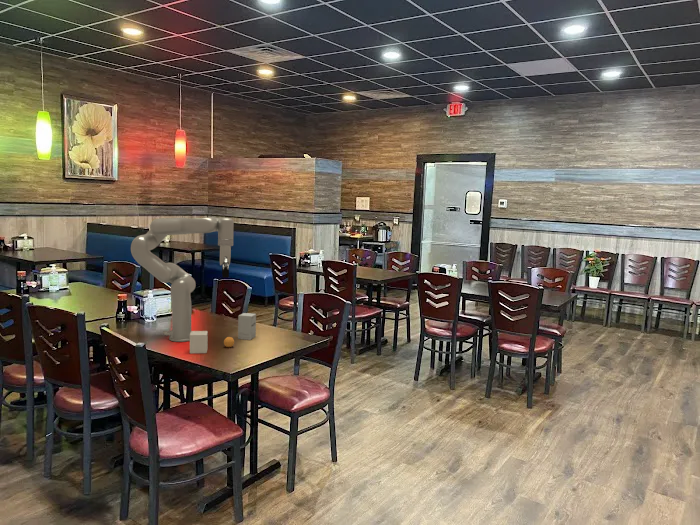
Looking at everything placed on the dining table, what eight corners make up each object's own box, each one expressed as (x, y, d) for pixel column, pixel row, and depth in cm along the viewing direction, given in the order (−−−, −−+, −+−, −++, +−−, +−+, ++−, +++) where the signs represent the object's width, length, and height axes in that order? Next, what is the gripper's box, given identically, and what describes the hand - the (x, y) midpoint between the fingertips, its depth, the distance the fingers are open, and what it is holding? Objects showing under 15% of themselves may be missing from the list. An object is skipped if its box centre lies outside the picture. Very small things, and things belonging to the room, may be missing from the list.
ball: (223, 348, 267) (223, 338, 266) (223, 345, 272) (224, 335, 271) (234, 348, 268) (234, 338, 267) (234, 345, 273) (234, 335, 272)
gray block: (189, 353, 257) (189, 335, 256) (191, 348, 264) (191, 331, 263) (206, 353, 258) (206, 334, 257) (207, 348, 266) (207, 330, 265)
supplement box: (250, 340, 284) (251, 316, 282) (237, 339, 285) (237, 315, 284) (256, 336, 291) (256, 313, 290) (243, 335, 292) (243, 312, 291)
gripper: (217, 240, 284) (217, 273, 286) (218, 243, 267) (217, 278, 269) (232, 241, 285) (232, 273, 287) (233, 244, 269) (233, 278, 271)
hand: (225, 276), depth 278 cm, fingers open, 9 cm apart
